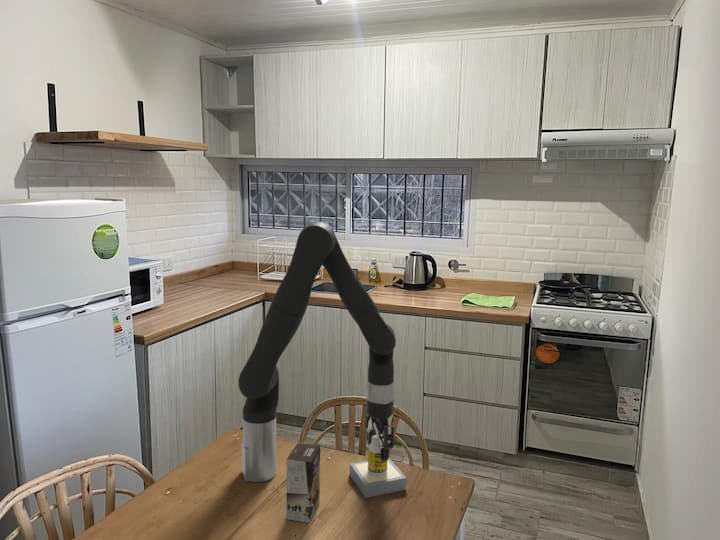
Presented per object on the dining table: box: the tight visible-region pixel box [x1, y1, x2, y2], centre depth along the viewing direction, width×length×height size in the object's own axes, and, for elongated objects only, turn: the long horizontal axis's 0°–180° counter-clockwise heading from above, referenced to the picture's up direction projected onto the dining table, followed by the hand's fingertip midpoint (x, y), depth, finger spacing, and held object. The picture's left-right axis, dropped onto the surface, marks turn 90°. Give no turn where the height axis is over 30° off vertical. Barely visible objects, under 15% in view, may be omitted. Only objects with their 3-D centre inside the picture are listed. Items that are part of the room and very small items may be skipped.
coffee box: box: [285, 442, 321, 524], centre depth 135 cm, size 9×6×16 cm
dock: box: [349, 457, 407, 499], centre depth 150 cm, size 12×12×4 cm
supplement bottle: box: [367, 434, 388, 475], centre depth 149 cm, size 5×5×10 cm
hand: (378, 452), depth 149 cm, fingers open, 8 cm apart
